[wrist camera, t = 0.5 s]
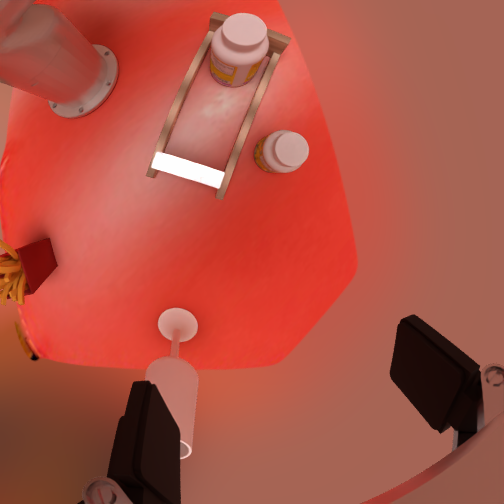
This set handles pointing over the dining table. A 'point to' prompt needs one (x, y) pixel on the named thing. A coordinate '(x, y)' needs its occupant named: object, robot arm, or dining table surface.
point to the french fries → (25, 269)
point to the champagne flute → (177, 374)
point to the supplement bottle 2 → (281, 152)
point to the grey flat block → (188, 169)
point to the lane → (274, 51)
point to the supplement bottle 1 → (238, 49)
